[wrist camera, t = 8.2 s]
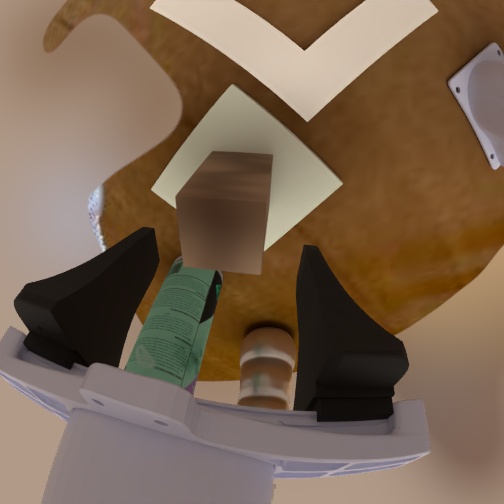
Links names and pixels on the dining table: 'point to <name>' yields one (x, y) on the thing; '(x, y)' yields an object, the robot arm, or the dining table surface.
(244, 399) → the plastic bottle
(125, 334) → the robot arm
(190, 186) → the walnut block
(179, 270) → the spray can
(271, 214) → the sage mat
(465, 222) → the dining table surface
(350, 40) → the socket board
